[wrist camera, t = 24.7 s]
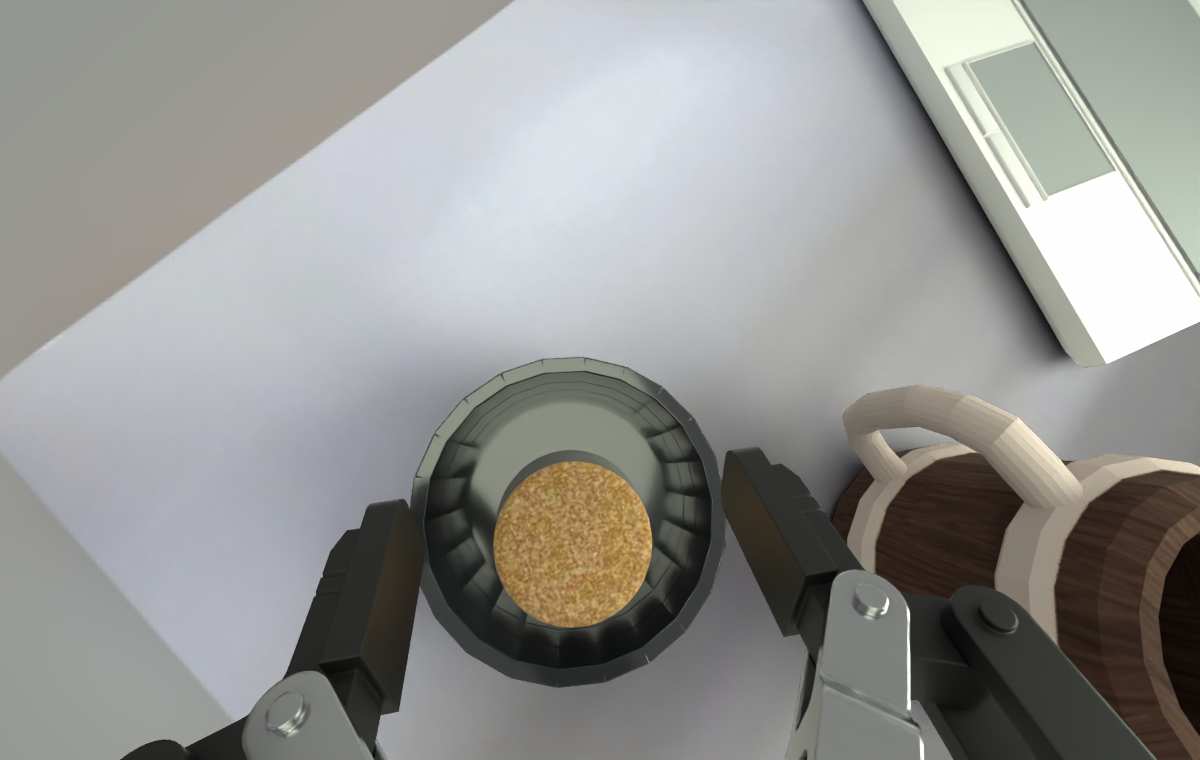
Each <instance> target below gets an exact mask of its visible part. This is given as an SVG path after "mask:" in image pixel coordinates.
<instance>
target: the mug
mask: <svg viewBox="0 0 1200 760" xmlns="http://www.w3.org/2000/svg"><path fill="white" fill-rule="evenodd" d="M843 422H844V426H845V430H846V433H847V437H848V441H849V444H850V446H851V447H852V448H853V450H854V451H855V453H856V454H857V456H858V457H859V458H860V460H861V461H862V463H863V464H864V465H865V467H866V469H865V470H863V471H861V472H860V474H859V475H858V476H857V477H856V479H855V480H854V481H853V483H852V484H851V485H850V487H849V488H848V489H847V491H846V492H845V493H844V494H843V496H842V497H841V498H840V500H839V503H838V506H837V509H836V512H835V515H834V518H833V521H832V524H833V526H834V527H835V529H836V530H837V531H838V533H839V534H840V536H841V537H842V539H843V540H844V541H845V543H846V544H847V546H848V547H849V549H850V550H851V551H852V553H853V554H854V556H855V557H856V559H857V560H858V561H859V563H860V564H861V565H862V567H863V568H864V569H865V570H866V571H868V572H871V573H874V574H876V575H878V576H880V577H882V578H884V579H885V580H887V581H888V582H890V583H891V584H892V585H893V586H894V587H895V588H896V589H897V590H899V591H902V592H906V593H912V594H919V595H926V596H934V597H941V598H948V599H950V598H951V597H952V595H953V594H954V592H955V591H956V590H957V589H958V588H960V587H962V586H966V585H980V586H985V587H989V588H991V589H994V590H997V591H999V592H1001V593H1003V594H1005V595H1007V596H1008V597H1010V598H1011V599H1013V600H1014V601H1016V602H1017V603H1018V604H1020V605H1021V606H1022V607H1023V608H1024V609H1025V610H1026V611H1027V612H1028V613H1029V614H1030V615H1031V616H1032V617H1033V619H1034V620H1035V621H1036V622H1037V623H1038V624H1039V625H1040V626H1041V628H1042V629H1043V630H1044V631H1045V632H1046V633H1047V634H1048V636H1049V637H1050V638H1051V639H1052V640H1053V641H1054V642H1055V644H1056V645H1057V646H1058V647H1059V648H1060V649H1061V650H1062V652H1063V653H1064V654H1065V655H1066V656H1067V657H1068V658H1069V660H1070V661H1071V662H1072V663H1073V664H1074V665H1075V666H1076V667H1077V669H1078V670H1079V671H1080V672H1081V673H1082V674H1083V675H1084V677H1085V678H1086V679H1087V680H1088V681H1089V682H1090V683H1091V685H1092V686H1093V687H1094V688H1095V689H1096V690H1097V691H1098V693H1099V694H1100V695H1101V696H1102V697H1103V698H1104V699H1105V701H1106V702H1107V703H1108V704H1109V705H1110V706H1111V707H1112V708H1113V710H1114V711H1115V712H1116V713H1117V714H1118V715H1119V716H1120V718H1121V719H1122V720H1123V721H1124V722H1125V723H1126V724H1127V726H1128V727H1129V728H1130V729H1131V730H1132V731H1133V732H1134V734H1135V735H1136V736H1137V737H1138V738H1139V739H1140V740H1141V741H1142V743H1143V744H1144V745H1145V746H1146V747H1147V748H1148V749H1149V751H1150V752H1151V753H1152V754H1153V755H1154V756H1155V757H1156V759H1157V760H1200V467H1198V466H1196V465H1194V464H1191V463H1185V462H1178V461H1170V460H1163V459H1155V458H1148V457H1140V456H1131V455H1122V454H1114V453H1111V454H1107V455H1103V456H1098V457H1094V458H1089V459H1085V460H1080V461H1076V462H1075V461H1063V460H1060V459H1059V458H1058V457H1057V456H1056V455H1055V454H1054V453H1053V452H1052V451H1051V450H1050V449H1049V448H1048V447H1047V446H1046V445H1045V444H1044V443H1043V442H1042V441H1041V440H1040V439H1039V438H1038V437H1037V436H1036V435H1035V434H1034V433H1033V432H1032V431H1031V430H1030V429H1029V428H1028V427H1027V426H1026V425H1025V424H1024V423H1023V422H1022V421H1021V420H1020V419H1019V418H1018V417H1016V416H1014V415H1011V414H1009V413H1007V412H1005V411H1003V410H1001V409H999V408H997V407H995V406H993V405H991V404H989V403H986V402H984V401H982V400H980V399H978V398H976V397H974V396H971V395H967V394H962V393H958V392H954V391H949V390H945V389H940V388H936V387H932V386H927V385H922V384H921V385H914V386H908V387H902V388H896V389H890V390H884V391H878V392H873V393H867V394H866V395H864V396H863V397H861V398H860V399H859V400H858V401H856V402H855V403H854V404H852V405H851V406H850V407H849V408H847V409H846V411H845V412H844V414H843ZM907 427H921V428H924V429H927V430H931V431H934V432H937V433H940V434H943V435H946V436H949V437H951V438H953V439H955V440H956V441H958V442H960V443H962V444H958V443H950V442H948V443H943V444H938V445H934V446H929V447H924V448H916V449H911V450H907V451H902V452H897V453H894V452H893V451H892V450H891V449H890V447H889V446H888V445H887V443H886V442H885V440H884V439H883V437H882V436H881V434H880V433H879V432H880V430H881V429H892V428H907Z"/></svg>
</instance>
